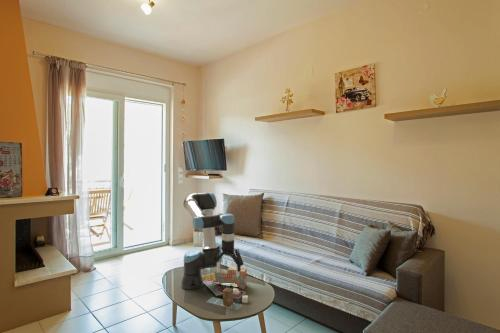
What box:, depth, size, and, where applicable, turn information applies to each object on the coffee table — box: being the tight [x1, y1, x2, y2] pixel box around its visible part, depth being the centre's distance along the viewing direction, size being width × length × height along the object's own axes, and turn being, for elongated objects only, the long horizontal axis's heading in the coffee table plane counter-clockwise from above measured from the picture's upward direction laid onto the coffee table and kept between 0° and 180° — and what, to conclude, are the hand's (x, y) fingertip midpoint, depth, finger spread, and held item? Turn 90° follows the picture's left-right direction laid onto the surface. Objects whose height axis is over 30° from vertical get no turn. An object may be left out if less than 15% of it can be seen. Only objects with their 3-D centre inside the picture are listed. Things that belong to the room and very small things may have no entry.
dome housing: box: [233, 289, 247, 304], centre depth 185 cm, size 10×10×3 cm
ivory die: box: [241, 294, 249, 304], centre depth 181 cm, size 3×3×3 cm
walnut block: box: [222, 287, 234, 307], centre depth 177 cm, size 4×4×9 cm
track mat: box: [206, 296, 243, 311], centre depth 178 cm, size 22×7×1 cm, turn 64°
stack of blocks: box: [214, 265, 248, 290], centre depth 204 cm, size 21×6×12 cm, turn 73°
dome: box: [232, 287, 241, 297], centre depth 185 cm, size 7×7×5 cm
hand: (227, 274), depth 176 cm, fingers open, 13 cm apart
